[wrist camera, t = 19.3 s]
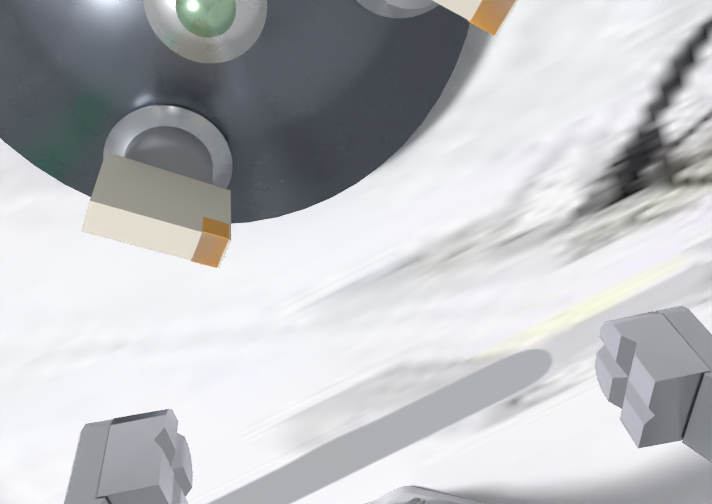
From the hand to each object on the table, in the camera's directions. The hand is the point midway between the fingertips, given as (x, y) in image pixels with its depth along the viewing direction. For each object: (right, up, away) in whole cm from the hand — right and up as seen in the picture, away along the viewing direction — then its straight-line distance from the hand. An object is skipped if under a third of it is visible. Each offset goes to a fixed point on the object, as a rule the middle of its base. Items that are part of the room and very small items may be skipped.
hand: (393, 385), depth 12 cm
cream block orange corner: (-10, +7, +21) cm, 24 cm away
